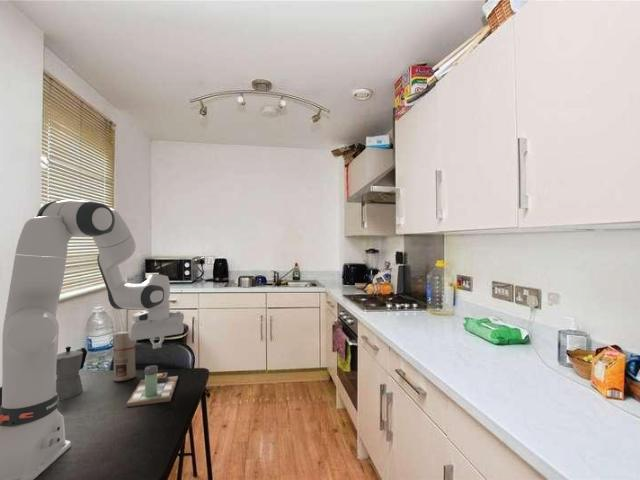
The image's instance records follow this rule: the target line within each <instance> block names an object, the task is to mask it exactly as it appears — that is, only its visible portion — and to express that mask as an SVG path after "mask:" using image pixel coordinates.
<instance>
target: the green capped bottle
mask: <svg viewBox="0 0 640 480" xmlns="http://www.w3.org/2000/svg"><path fill="white" fill-rule="evenodd" d="M158 372H159V371H158V365H155V364H154V365H147V366H145V367H144V380H145V397H154V396H156V395H157V374H158Z"/></svg>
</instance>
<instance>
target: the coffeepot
mask: <svg viewBox="0 0 640 480" xmlns="http://www.w3.org/2000/svg"><path fill="white" fill-rule="evenodd" d="M71 349H72V347H71V346H66V347H65V350H66V351H64V352H61V353H57V363H56V392H57V393H58V398H59V400H66V399H71V398H75V397H76V395H77V396H79V395H80V394H81V393H82V392H83V390H84V389H83V384H82V379H81V375H80V370H82V369H83V368H85V367H84V366H85V363H86V358H87V355H88V350H87V349H86V348H85V347H81V348H78V349H75V350H71Z"/></svg>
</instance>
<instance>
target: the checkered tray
mask: <svg viewBox="0 0 640 480" xmlns="http://www.w3.org/2000/svg"><path fill="white" fill-rule="evenodd" d="M161 373H162V374H163V377H160V378H157V395H156V396H154V397H145V379H140V380H139V383H138V385H137V386H136V387H135V389H134V391H133V392H132V394H131V396H130V397H129V399H128V401H127V402H126V407H136V406H143V405H144V406H145V405H151V404H152V405H153V404H158V403H167V402H171V401H172V398H173V396H174V395H173V394H174V392H175V389H176V386H177V382H178V379H179V376H178V375H175V376H174V375H173V376H168V372H161ZM157 374H159V373H158V372H157Z"/></svg>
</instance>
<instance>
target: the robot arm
mask: <svg viewBox="0 0 640 480" xmlns="http://www.w3.org/2000/svg"><path fill="white" fill-rule="evenodd" d="M72 237H92V239H93V241H94V245H96V247H97V250H98V254H97V258H96V260H97V266H98V268H99V271H100V273H101V276H102V279H103V282H104V285H105V288H106V290H107V298H108V302H109V304H110V306H111V307H112V309H115V310H128V309H129V310H141V311H138V312H136V313H134V314H132V321H131V322H130V325H129V329H128V332H129V339H130V340H132V341H133V340H135V341H139V340H146V339H149V341H150V342H151V344H152V349H153V350H154V349H161V348H162V343H163V342H164V341H165V337H168V336H174V335H176V336H177V335H181V334H183V333H184V330H185V328H184V327H185V326H184V319H185V315H184V312H181V311H172V312H171V310H170V307H171V306H170V296H171V285H170V279H169V276H167V275H165V274H160V273H151V274H149V275H148V276H147V279H146V280H145V281H143V282H141V283H129V282H126V281H124V279H123V275H122V273H121V270H120V268H119V265H120V264H123V263H125V262H126V261H127V260H129V259H130V258H131V257H132V256H133V255H134V253H135V251H136V247H137V246H136V242H135V238H134V236H133V235H132V233H131V230H130V228H129V226H128V225H127V223H126V222H125V220H124V218H123V217H122V216H121V214H120V213H119V211H117V210H116V209H114V208H110V207H109V206H108V205H107V204H105V203H102V202H100V201H99V202H98V201H94V200H89V201H88V200H87V201H86V200H81V199H80V200H79V199H65V200H61V199H59V200H58V199H57V200H53V201H48V202H47V203H44V204H43V205H42V206H41V207H40V208H39V210H38V212H37V215H36V216H35V217H32V218H30V219H28V220H27V221H25V223H24V225H23V227H22V230H21V232H20V234H19V238H18V240H17V245H16V249H15V253H14V260H13V266H12V271H11V279H10V284H9V291H8V298H7V303H6V308H5V315H4V321H3V327H2V345H1V346H2V350H1V351H2V353H1V355H2V356H1V357H2V361H1V362H2V366H1V367H2V371H1V372H2V373H1V374H2V375H1V378H2V379H1V384H2V385H1V387H2V388H1V405H0V480H35V479H36V478H37V477H39V475H40V474H42V472H44V471H45V470H46V469H48V467H50V465H51V464H53V463H54V462H55V461H56V460H57V459H58V458H60V456H62V455H63V454H65V452H66V451H67V450H68V449H70V447H71V446H72V442H71V440H68V439H66V432H65V431H66V430H65V418H64V415H63V414H62V413H61V412H60V411H59V409H58V407H59V401H60V399H59V398H58V393H57V392H56V379H57V375H56V363H57V354H58V350H59V334H60V332H59V331H60V330H59V329H60V326H59V322H58V319H57V316H56V315H57V311H58V306H59V302H60V295H61V293H62V292H61V291H62V288H63V284H64V278H65V270H66V263H67V256H68V247H69V246H68V244H69V242H70V241H71V239H72ZM156 338H159V339H160V340H159V341H158V342H155V339H156Z"/></svg>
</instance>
